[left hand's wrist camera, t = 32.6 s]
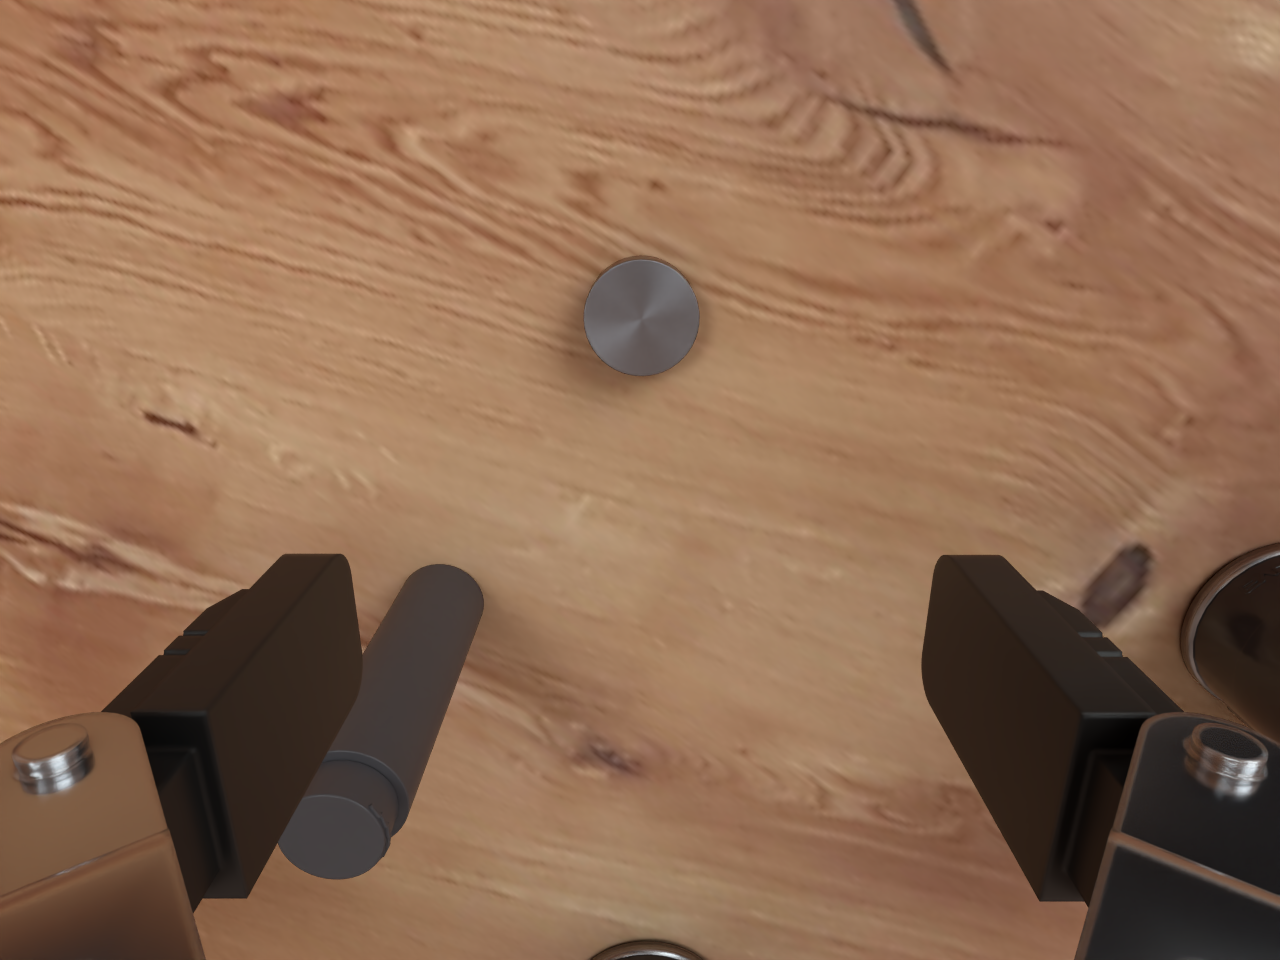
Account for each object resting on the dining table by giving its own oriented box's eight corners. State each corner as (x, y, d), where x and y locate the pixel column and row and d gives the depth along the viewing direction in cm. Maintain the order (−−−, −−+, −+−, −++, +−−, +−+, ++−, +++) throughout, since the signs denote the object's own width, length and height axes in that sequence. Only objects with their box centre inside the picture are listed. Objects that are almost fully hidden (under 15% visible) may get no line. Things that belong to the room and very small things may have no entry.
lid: (608, 238, 35) (606, 241, 34) (713, 279, 36) (717, 285, 34) (571, 344, 37) (567, 352, 35) (672, 382, 38) (673, 392, 36)
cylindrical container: (435, 650, 43) (322, 906, 28) (384, 589, 41) (237, 822, 26) (500, 612, 42) (420, 854, 27) (450, 549, 41) (338, 765, 25)
